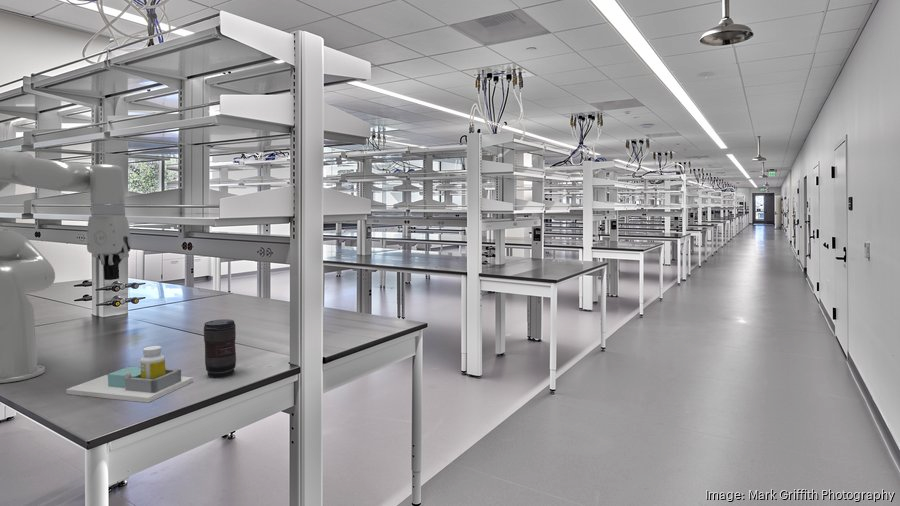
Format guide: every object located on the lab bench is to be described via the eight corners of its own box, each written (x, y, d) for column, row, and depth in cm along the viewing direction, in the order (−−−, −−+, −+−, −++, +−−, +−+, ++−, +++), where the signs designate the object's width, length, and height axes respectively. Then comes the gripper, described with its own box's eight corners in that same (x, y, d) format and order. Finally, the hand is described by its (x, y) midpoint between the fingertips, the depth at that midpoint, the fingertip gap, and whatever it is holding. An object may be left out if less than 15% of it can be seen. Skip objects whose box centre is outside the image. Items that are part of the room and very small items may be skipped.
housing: (108, 385, 127) (107, 374, 127) (129, 377, 134) (128, 366, 133) (134, 388, 126) (134, 376, 125) (154, 380, 132) (154, 368, 132)
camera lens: (240, 368, 146) (238, 318, 144) (232, 378, 138) (230, 324, 136) (210, 370, 144) (208, 318, 143) (201, 379, 136) (199, 325, 135)
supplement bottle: (170, 381, 131) (168, 344, 130) (158, 389, 126) (157, 350, 125) (148, 381, 131) (147, 345, 130) (136, 389, 125) (135, 350, 124)
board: (66, 393, 125) (65, 371, 124) (118, 374, 140) (117, 354, 139) (148, 402, 120) (147, 379, 119) (192, 381, 134) (192, 361, 134)
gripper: (72, 211, 132) (76, 280, 133) (119, 211, 129) (123, 282, 130) (97, 211, 139) (101, 276, 141) (143, 211, 136) (146, 278, 138)
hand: (111, 279), depth 136 cm, fingers closed
